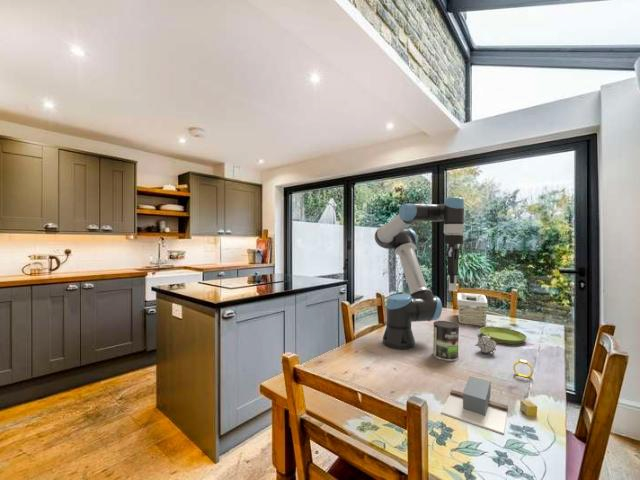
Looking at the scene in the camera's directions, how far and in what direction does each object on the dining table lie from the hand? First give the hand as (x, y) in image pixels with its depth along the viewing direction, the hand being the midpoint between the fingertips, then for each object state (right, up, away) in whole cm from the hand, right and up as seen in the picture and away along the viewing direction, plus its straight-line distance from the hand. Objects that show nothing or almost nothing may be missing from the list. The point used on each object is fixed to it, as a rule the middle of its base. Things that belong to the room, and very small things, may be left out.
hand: (452, 290), depth 126 cm
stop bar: (-6, -30, -31) cm, 44 cm away
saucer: (+38, -30, +28) cm, 55 cm away
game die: (+19, -30, +9) cm, 36 cm away
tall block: (-4, -26, -29) cm, 39 cm away
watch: (+21, -30, -13) cm, 39 cm away
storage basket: (+38, -29, +60) cm, 77 cm away
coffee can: (-1, -30, +5) cm, 30 cm away
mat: (-10, -30, -37) cm, 49 cm away
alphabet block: (+7, -31, -36) cm, 48 cm away
